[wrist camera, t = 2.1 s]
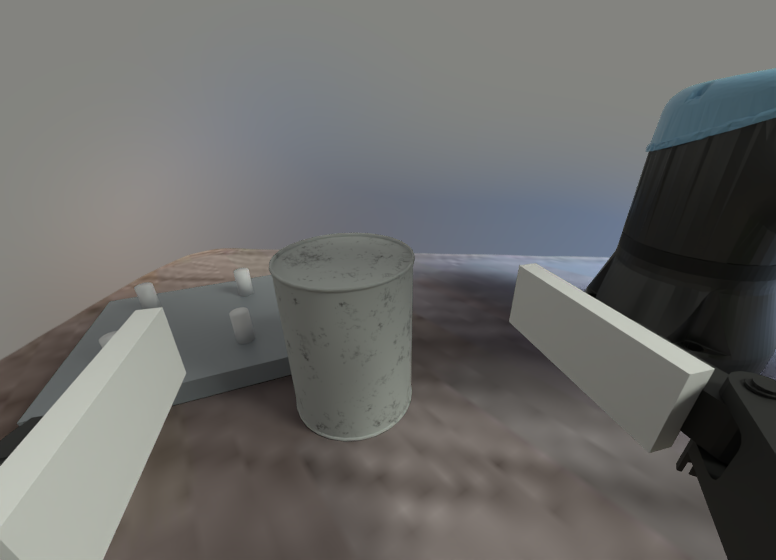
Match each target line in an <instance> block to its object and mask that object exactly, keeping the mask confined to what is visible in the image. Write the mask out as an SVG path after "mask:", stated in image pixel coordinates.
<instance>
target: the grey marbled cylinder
mask: <svg viewBox="0 0 776 560" xmlns="http://www.w3.org/2000/svg"><path fill="white" fill-rule="evenodd" d="M414 260H415V256H414V253H413V250H412V249H411V248H410V247H409V246H408V245H407V244H405V243H403V242H402V241H400V240H397V239H394V238H391V237H387V236H383V235H377V234H368V233H338V234H329V235H323V236H317V237H312V238H309V239H305V240H301V241H299V242H296V243H294V244H291V245H289V246H287V247H285V248H283V249H281V250H280V251H278V252H277V253H276V254H275V255H274V256H273V257H272V259H271V260H270V262H269V271H270V273H271V275H272V279H273V284H274V289H275V294H276V299H277V304H278V309H279V314H280V319H281V324H282V329H283V334H284V339H285V344H286V349H287V354H288V359H289V364H290V369H291V374H292V379H293V384H294V389H295V394H296V401H297V410H298V412H299V415H300V418H301V419H302V421H303V422H304V423H305V424H306V426H307V427H308V428H310V429H311V430H312V431H314V432H315V433H317V434H318V435H321V436H323V437H326V438H328V439H331V440H338V441H360V440H364V439H368V438H372V437H375V436H377V435H379V434H381V433H383V432H385V431H387V430H389V429H390V428H391V427H393V426H394V425H395V424H396V423H398V422H399V420H400V419H401V418H402V417H403V415H404V414H405V413H406V411H407V409H408V407H409V404H410V402H411V395H412V388H411V353H412V300H413V264H414Z"/></svg>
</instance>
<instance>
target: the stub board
mask: <svg viewBox="0 0 776 560" xmlns="http://www.w3.org/2000/svg"><path fill="white" fill-rule="evenodd" d="M234 276H235V280H236V281H232V282H225V283H219V284H213V285H207V286H201V287H195V288H189V289H183V290H177V291H171V292H165V293H158V294H156V292H155V289H154V286H153V284H152V283H150V282H147V283H142V284H139V285H137V286H135V287H134V289H135V291H136V293H137V296H138V297H134V298H128V299H122V300H116V301H110V302H109V303H108V305H107V306H106V307H105V309H104V310H103V311H102V313H101V314H100V315H99V317H98V318H97V319H96V320H95V322H94V323H93V324H92V326H91V327H90V328H89V330H88V331H87V332H86V333H85V335H84V336H83V337H82V339H81V340H80V341H79V343H78V344H77V345H76V347H75V348H74V349H73V350H72V352H71V353H70V354H69V356H68V357H67V358H66V360H65V361H64V362H63V364H62V365H61V366H60V367H59V369H58V370H57V371H56V373H55V374H54V375H53V377H52V378H51V379H50V381H49V382H48V383H47V384H46V386H45V387H44V388H43V390H42V391H41V392H40V394H39V395H38V396H37V398H36V399H35V400H34V401H33V403H32V404H31V405H30V407H29V408H28V409H27V411H26V412H25V413H24V415H23V416H22V417H21V418H20V420H19V421H18V422H17V424H18V425H19V426H21V425H22V424H23V423H25V422H26V421H28V420H29V419H30V418H32V417H38V416H44V415H45V414H46V413H47V412H48V411H49V409H50V408H51V407H52V406H53V405H54V404H55V403H56V401H57V400H58V399H59V398H60V397H61V396H62V395H63V393H64V392H65V391H66V390H67V389H68V388H69V386H70V385H71V384H72V383H73V382H74V381H75V380H76V378H77V377H78V376H79V375H80V374H81V373H82V371H83V370H84V369H85V368H86V367H87V366H88V365H89V363H90V362H91V361H92V360H93V359H94V358H95V356H96V355H97V354H98V353H99V352H100V351H101V350H102V348H103V347H104V346H105V345H106V344H107V343H108V341H109V340H110V339H111V338H112V337H113V336H114V335H115V333H116V332H117V331H118V330H119V329H120V328H121V326H122V325H123V324H124V323H125V322H126V321H127V320H128V318H129V317H130V316H131V315H132V314H133V313H134V312H135V310H142V309H151V308H159V307H163V310H164V313H165V315H166V318H167V321H168V324H169V327H170V329H171V332H172V335H173V338H174V340H175V343H176V346H177V349H178V351H179V354H180V357H181V360H182V362H183V365H184V368H185V371H186V375H185V377H184V379H183V381H182V384H181V386H180V388H179V390H178V393H177V395H176V397H175V399H174V402H173V404H172V406H173V405H177V404H181V403H185V402H188V401H192V400H196V399H200V398H204V397H207V396H211V395H215V394H219V393H223V392H227V391H230V390H234V389H238V388H242V387H246V386H249V385H253V384H257V383H261V382H265V381H269V380H272V379H276V378H280V377H284V376H288V375H291V369H290V364H289V359H288V354H287V349H286V344H285V339H284V334H283V329H282V324H281V319H280V314H279V309H278V304H277V299H276V294H275V289H274V284H273V279H272V275H268V276H262V277H256V278H250V274H249V270H248V268H239V269H236V270H234Z"/></svg>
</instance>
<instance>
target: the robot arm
mask: <svg viewBox="0 0 776 560" xmlns="http://www.w3.org/2000/svg"><path fill="white" fill-rule="evenodd" d="M646 152H649V153H648V156H647V159H646V162H645V165H644V168H643V171H642V174H641V177H640V180H639V183H638V186H637V189H636V192H635V195H634V198H633V201H632V204H631V207H630V210H629V213H628V216H627V219H626V222H625V225H624V228H623V232H622V235H621V238H620V241H619V244H618V247H617V249H616V251H615V252H614V253H613V255H612V256H611V257H610V259H609V260H608V261H607V262H606V264H605V265H604V266H603V268H602V269H601V270H600V271H599V273H598V274H597V275H596V276H595V278H594V279H593V280H592V282H591V283H590V284H589V285H588V287H587V288H586V290H585V291H584V292H583V291H582V290H580V289H578V288H577V287H575V286H573V285H571V284H570V283H568V282H566V281H565V280H563V279H561V278H559V277H558V276H556V275H554V274H553V273H551V272H549V271H548V270H546V269H544V268H542V267H541V266H539V265H537V264H536V263H535V264H527V265H519V270H518V276H517V281H516V286H515V292H514V297H513V303H512V308H511V313H510V319H509V322H510V323H511V324H512V325H513V326H514V327H515V328H516V329H517V330H518V331H519V332H520V333H522V334H523V335H524V336H525V337H526V338H527V339H528V340H529V341H530V342H531V343H532V344H533V345H534V346H535V347H536V348H538V349H539V350H540V351H541V352H542V353H543V354H544V355H545V356H546V357H547V358H548V359H549V360H550V361H551V362H552V363H554V364H555V365H556V366H557V367H558V368H559V369H560V370H561V371H562V372H563V373H564V374H565V375H566V376H567V377H568V378H570V379H571V380H572V381H573V382H574V383H575V384H576V385H577V386H578V387H579V388H580V389H581V390H582V391H583V392H584V393H586V394H587V395H588V396H589V397H590V398H591V399H592V400H593V401H594V402H595V403H596V404H597V405H598V406H599V407H600V408H602V409H603V410H604V411H605V412H606V413H607V414H608V415H609V416H610V417H611V418H612V419H613V420H614V421H615V422H616V423H618V424H619V425H620V426H621V427H622V428H623V429H624V430H625V431H626V432H627V433H628V434H629V435H630V436H631V437H632V438H634V439H635V440H636V441H637V442H638V443H639V444H640V445H641V446H642V447H643V448H644V449H645V450H646V451H647V452H648V453H652V452H655V451H659V450H662V449H666V448H669V447H671V446H672V445H673V443H674V441H675V439H676V438H677V436H678V434H679V432H680V431H682V432H683V433H684V434H685V435H687V436H688V437H689V438H690V441H689V443H688V445H687V446H686V448H685V450H684V451H683V453H682V455H681V456H680V458H679V460H678V461H677V463H676V469H677V470H678V471H681V472H682V470H683V469H684V467H685V466H686V464H687V462H690V463H692V465H693V467H692V468H691V470H690V472H689V474H690V475H693V476H696V477H697V478H698V481H699V483H700V486H701V489H702V492H703V494H704V497H705V500H706V502H707V505H708V508H709V510H710V513H711V516H712V518H713V521H714V524H715V526H716V529H717V532H718V534H719V537H720V540H721V542H722V545H723V548H724V551H725V553H726V556H727V559H728V560H776V381H775V380H773V379H770V378H768V377H765V376H762V375H759V374H760V373H761V372H762V371H763V369H764V368H765V366H766V365H767V363H768V362H769V360H770V359H771V357H772V355H773V354H774V352H775V349H776V68H774V69H769V70H764V71H758V72H753V73H747V74H742V75H737V76H732V77H727V78H722V79H717V80H712V81H708V82H704V83H700V84H696V85H693V86H690V87H688V88H686V89H684V90H682V91H680V92H679V93H677V94H676V95H675V96H673V97H672V98H671V99H670V100H669V102H668V103H667V104H666V106H665V108H664V110H663V112H662V114H661V117H660V120H659V122H658V125H657V127H656V130H655V133H654V135H653V138H652V141H651V143H650V144H649V145H648V146H647V147H646ZM185 375H186V371H185V368H184V365H183V362H182V360H181V357H180V354H179V351H178V349H177V346H176V343H175V340H174V338H173V335H172V332H171V329H170V327H169V324H168V321H167V318H166V315H165V313H164V310H163V307H159V308H151V309H142V310H135V312H134V313H133V314H132V315H131V316H130V317H129V318H128V320H127V321H126V322H125V323H124V324H123V325H122V326H121V328H120V329H119V330H118V331H117V332H116V333H115V335H114V336H113V337H112V338H111V339H110V340H109V341H108V343H107V344H106V345H105V346H104V347H103V348H102V350H101V351H100V352H99V353H98V354H97V355H96V356H95V358H94V359H93V360H92V361H91V362H90V363H89V365H88V366H87V367H86V368H85V369H84V370H83V371H82V373H81V374H80V375H79V376H78V377H77V378H76V380H75V381H74V382H73V383H72V384H71V385H70V386H69V388H68V389H67V390H66V391H65V392H64V393H63V395H62V396H61V397H60V398H59V399H58V400H57V401H56V403H55V404H54V405H53V406H52V407H51V408H50V409H49V411H48V412H47V413H46V414H45V415H44V416H38V417H32V418H30V419H29V420H28V421H26V422H25V423H23V424H22V425H21V426H19V427H18V428H17V429H15V430H14V431H12V432H11V433H10V434H8V435H7V436H6V437H4V438H3V439H2V440H1V441H0V560H103V558H104V556H105V554H106V552H107V550H108V547H109V545H110V543H111V541H112V538H113V536H114V534H115V532H116V529H117V527H118V525H119V523H120V520H121V518H122V516H123V514H124V511H125V509H126V507H127V505H128V502H129V500H130V498H131V496H132V494H133V491H134V489H135V487H136V485H137V482H138V480H139V478H140V476H141V473H142V471H143V469H144V467H145V464H146V462H147V460H148V458H149V455H150V453H151V451H152V449H153V446H154V444H155V442H156V440H157V437H158V435H159V433H160V431H161V429H162V426H163V424H164V422H165V420H166V417H167V415H168V413H169V411H170V408H171V406H172V404H173V402H174V399H175V397H176V395H177V393H178V390H179V388H180V386H181V384H182V381H183V379H184V377H185Z"/></svg>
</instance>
